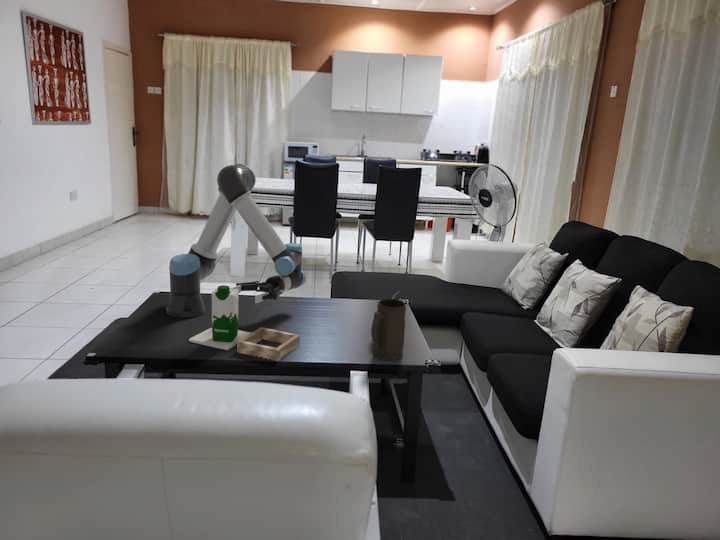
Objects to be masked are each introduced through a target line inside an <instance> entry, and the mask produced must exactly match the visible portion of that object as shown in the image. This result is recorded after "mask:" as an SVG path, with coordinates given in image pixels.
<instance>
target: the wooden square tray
mask: <svg viewBox="0 0 720 540" xmlns="http://www.w3.org/2000/svg"><path fill="white" fill-rule="evenodd" d="M250 333H251V334H249V335H247V336H246V337H244V338H242V339H241V340H239V341H237V345H236V353H239V354H243V355H248V356H251V355H252V357H256V356H258V357H257V358H260V357H263V358H262V359H265V358H267V359H266V360H269V359H271V360H270V361H273V362H274V361H275V362H279V361H281V360H283V358H285V357H286V356H287V355H288V353H289V354H290V353H291V352H292V350H293V351H294V350H296V349H297V347H299V346H300V342H301V341H300V340H301V335H300V334H298V333H291V332H286V331H282V330H279V329H278V330H277V329H272V328H267V327H262V326H261V327H259V328H258V329H256V330H254V331H251V332H250ZM263 339H264V340H265V341H269V342H274V343H279V344H280V345H278V347H274V346H268V345H265V344H258V343H259V342H261V341H262V340H263ZM264 340H263V341H264ZM257 342H258V343H257Z"/></svg>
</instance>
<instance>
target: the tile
mask: <svg viewBox="0 0 720 540" xmlns="http://www.w3.org/2000/svg"><path fill="white" fill-rule="evenodd" d="M251 333H252V332H249V331H245V330H240V329H238V334H237V337H236V338H235V339H234V340H233V342H220V341H213V335H212V326H211V327H210V328H208V329H205V330H204V331H202V332H200V333H198V334H196V335H194V336H192V337H190V338H189V339H188V342H189V343H194V344H199V345H203V346H206V347H211V348H215V349H221V350H225V351H228V350H230V349H232V348H233V347H235V346H237V345H236V344H237V341H239V340H241V339H242V338H244V337H246V336H247V335H249V334H251Z"/></svg>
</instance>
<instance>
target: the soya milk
mask: <svg viewBox="0 0 720 540" xmlns="http://www.w3.org/2000/svg"><path fill="white" fill-rule="evenodd" d="M210 294H211V327H212V335H213V341H220V342H233V340H234V339H235V338H236V337H237V334H238V330H239V294H240V293H239V289H232V287H230V286H229V285H225V284H224V285H218V286H217V288H215V289H214V290H213V291H212V292H211V293H210Z"/></svg>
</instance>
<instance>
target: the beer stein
mask: <svg viewBox="0 0 720 540" xmlns="http://www.w3.org/2000/svg"><path fill="white" fill-rule="evenodd" d="M377 309H378V312H377V311H375V312H374V313H373V315H374V316H373V321H372V323H371V329H370V333H371V335H370V336H371V338H372V339H371V340H372V345H373V347H372V348H371V353H372V355H373V356H374V357H375V358H376V357H377V359H379V360H381V359H383V360H382V361H387V360H394V361H398V360H397V359H399V360H400V358H401V359H402V358H403V357H402V356H404V351H403V349H404V345H405V334H406V333H405V331H406V313H405V311H406V312H407V305H406V302H404V301H402V300H399V299H395V298H393V299H392V298H386V299H381V300H379V301H378V303H377V306H376V310H377Z"/></svg>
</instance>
